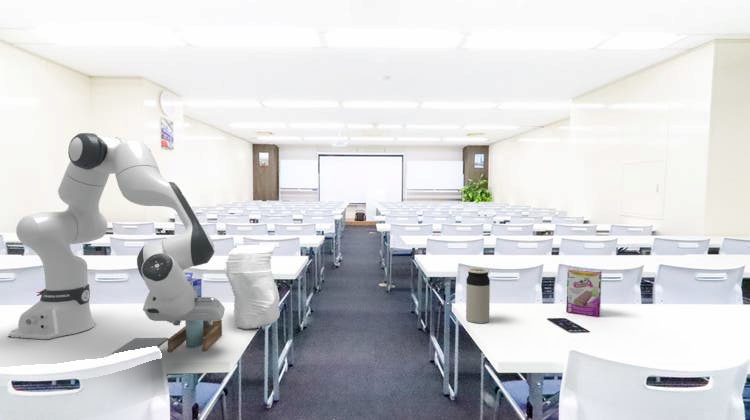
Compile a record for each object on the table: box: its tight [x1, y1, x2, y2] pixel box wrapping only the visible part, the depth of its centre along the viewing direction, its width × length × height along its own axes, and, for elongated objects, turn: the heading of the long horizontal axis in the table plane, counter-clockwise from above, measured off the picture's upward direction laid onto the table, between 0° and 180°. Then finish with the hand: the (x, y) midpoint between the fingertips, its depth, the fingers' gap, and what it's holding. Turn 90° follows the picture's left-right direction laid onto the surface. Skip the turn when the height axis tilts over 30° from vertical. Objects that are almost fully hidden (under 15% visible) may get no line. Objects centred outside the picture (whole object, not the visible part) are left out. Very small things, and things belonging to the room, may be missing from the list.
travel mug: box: [465, 267, 491, 324], centre depth 143 cm, size 8×8×18 cm
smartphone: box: [546, 317, 591, 334], centre depth 138 cm, size 8×1×15 cm
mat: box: [110, 337, 169, 354], centre depth 117 cm, size 10×14×1 cm
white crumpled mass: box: [223, 243, 281, 330], centre depth 140 cm, size 21×27×26 cm
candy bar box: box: [565, 267, 603, 318], centre depth 151 cm, size 11×5×16 cm, turn 58°
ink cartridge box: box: [184, 271, 203, 297], centre depth 154 cm, size 10×6×14 cm, turn 78°
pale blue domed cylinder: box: [184, 320, 204, 349], centre depth 121 cm, size 5×7×10 cm
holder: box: [167, 319, 223, 353], centre depth 121 cm, size 11×13×5 cm
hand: (194, 323), depth 119 cm, fingers open, 8 cm apart
